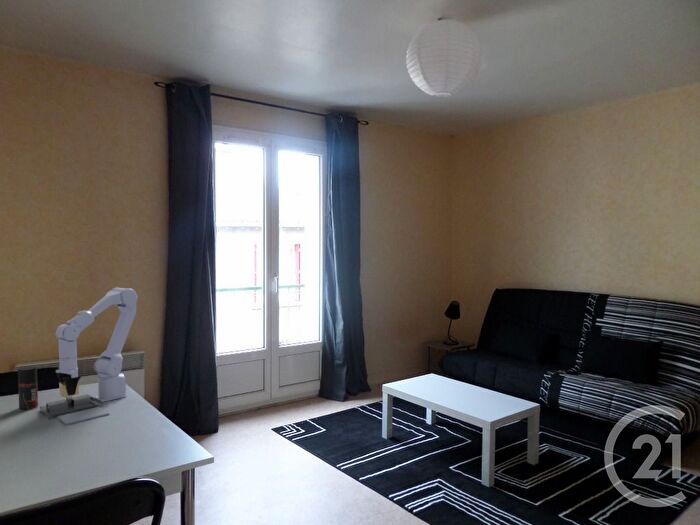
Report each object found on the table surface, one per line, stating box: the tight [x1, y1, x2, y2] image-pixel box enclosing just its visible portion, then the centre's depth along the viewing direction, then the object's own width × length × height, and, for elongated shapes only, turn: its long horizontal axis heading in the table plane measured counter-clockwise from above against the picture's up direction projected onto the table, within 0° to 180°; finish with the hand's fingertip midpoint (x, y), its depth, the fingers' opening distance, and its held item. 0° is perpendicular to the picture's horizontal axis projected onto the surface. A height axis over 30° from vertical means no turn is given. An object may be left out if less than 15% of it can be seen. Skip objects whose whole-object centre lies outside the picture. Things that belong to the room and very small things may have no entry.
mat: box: [56, 406, 110, 426], centre depth 174 cm, size 14×10×1 cm
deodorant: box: [17, 365, 39, 411], centre depth 183 cm, size 6×6×15 cm
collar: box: [58, 381, 80, 398], centre depth 181 cm, size 5×5×4 cm
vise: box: [39, 394, 99, 420], centre depth 181 cm, size 16×12×8 cm
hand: (69, 393), depth 181 cm, fingers closed on collar, 5 cm apart
